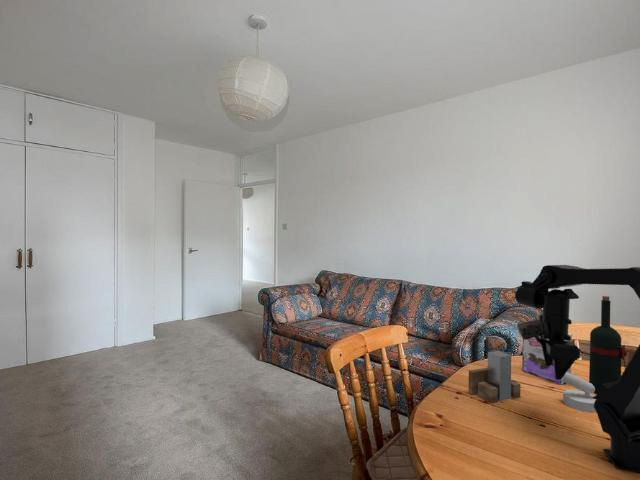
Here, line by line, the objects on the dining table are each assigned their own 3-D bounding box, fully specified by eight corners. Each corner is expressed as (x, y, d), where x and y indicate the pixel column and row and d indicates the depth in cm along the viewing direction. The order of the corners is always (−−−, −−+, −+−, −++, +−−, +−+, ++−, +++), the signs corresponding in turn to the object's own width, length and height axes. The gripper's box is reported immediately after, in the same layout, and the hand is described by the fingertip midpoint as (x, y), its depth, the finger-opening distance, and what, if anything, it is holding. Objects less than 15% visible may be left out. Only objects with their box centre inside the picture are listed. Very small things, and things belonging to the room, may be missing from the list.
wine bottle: (629, 402, 104) (631, 300, 103) (586, 391, 111) (588, 296, 110) (632, 394, 109) (633, 297, 109) (591, 384, 116) (592, 293, 116)
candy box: (521, 370, 128) (521, 325, 128) (531, 368, 131) (532, 323, 131) (560, 385, 116) (561, 335, 116) (571, 382, 118) (572, 333, 118)
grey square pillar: (510, 398, 106) (511, 355, 106) (499, 400, 104) (499, 357, 104) (498, 392, 110) (498, 350, 110) (487, 394, 108) (487, 352, 108)
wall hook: (552, 365, 107) (590, 367, 105) (552, 396, 108) (589, 399, 106) (566, 376, 99) (607, 379, 97) (566, 410, 99) (606, 413, 97)
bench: (523, 396, 107) (523, 373, 107) (487, 403, 102) (488, 379, 102) (502, 386, 114) (502, 365, 114) (468, 393, 109) (468, 370, 109)
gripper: (513, 303, 103) (511, 355, 104) (528, 318, 86) (525, 382, 86) (558, 306, 99) (555, 361, 100) (583, 323, 82) (579, 389, 82)
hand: (552, 372), depth 92 cm, fingers open, 9 cm apart
